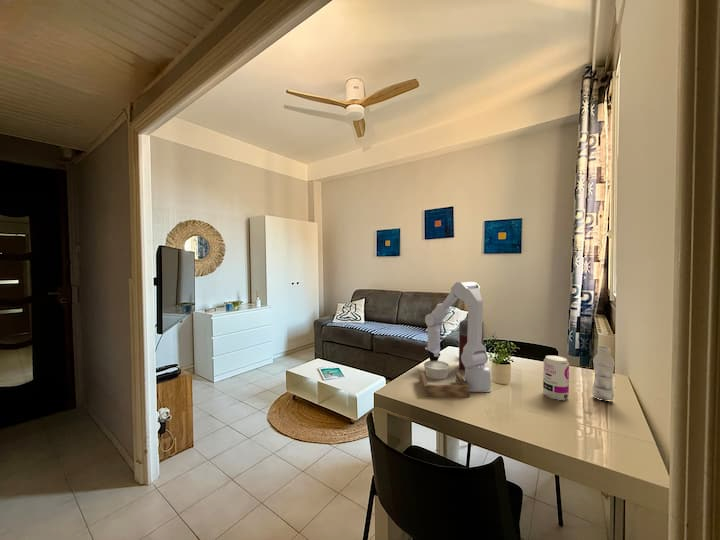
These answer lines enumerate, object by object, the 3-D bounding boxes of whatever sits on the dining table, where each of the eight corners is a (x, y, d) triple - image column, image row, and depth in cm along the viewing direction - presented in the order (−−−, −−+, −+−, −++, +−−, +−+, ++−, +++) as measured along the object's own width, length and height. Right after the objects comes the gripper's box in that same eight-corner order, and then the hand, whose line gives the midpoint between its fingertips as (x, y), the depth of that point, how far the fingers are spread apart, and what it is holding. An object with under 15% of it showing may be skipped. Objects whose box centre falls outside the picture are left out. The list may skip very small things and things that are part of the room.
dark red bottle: (484, 366, 149) (485, 310, 148) (477, 373, 140) (478, 313, 139) (466, 363, 154) (466, 308, 153) (458, 369, 145) (459, 311, 144)
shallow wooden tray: (459, 381, 130) (459, 372, 130) (469, 397, 116) (469, 386, 116) (419, 380, 132) (419, 371, 131) (424, 396, 117) (424, 385, 117)
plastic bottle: (610, 397, 115) (611, 346, 114) (616, 405, 109) (618, 351, 108) (589, 394, 118) (590, 344, 117) (594, 402, 112) (596, 348, 111)
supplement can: (570, 396, 117) (570, 357, 116) (566, 403, 111) (567, 363, 110) (545, 389, 122) (546, 353, 122) (540, 396, 116) (541, 358, 116)
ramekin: (434, 382, 130) (434, 370, 130) (419, 373, 140) (419, 362, 140) (454, 378, 135) (454, 366, 134) (438, 369, 145) (438, 359, 145)
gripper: (423, 334, 152) (422, 361, 152) (427, 342, 137) (427, 372, 138) (437, 335, 151) (437, 361, 152) (443, 343, 137) (443, 372, 137)
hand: (433, 366), depth 145 cm, fingers closed
